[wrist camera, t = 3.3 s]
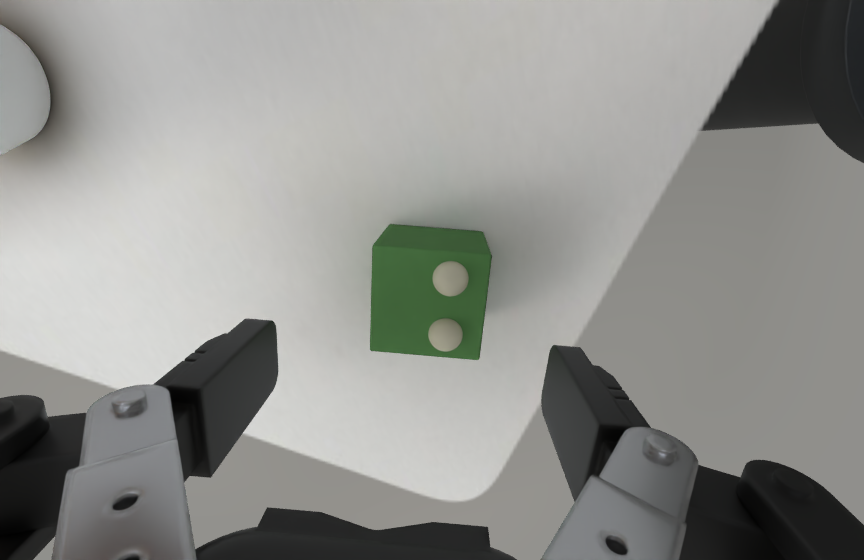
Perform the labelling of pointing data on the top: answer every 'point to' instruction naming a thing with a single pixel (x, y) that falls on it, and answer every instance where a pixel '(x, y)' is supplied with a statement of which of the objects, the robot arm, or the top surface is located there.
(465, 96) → the top surface
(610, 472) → the robot arm
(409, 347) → the green cube with bumps
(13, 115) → the mug
